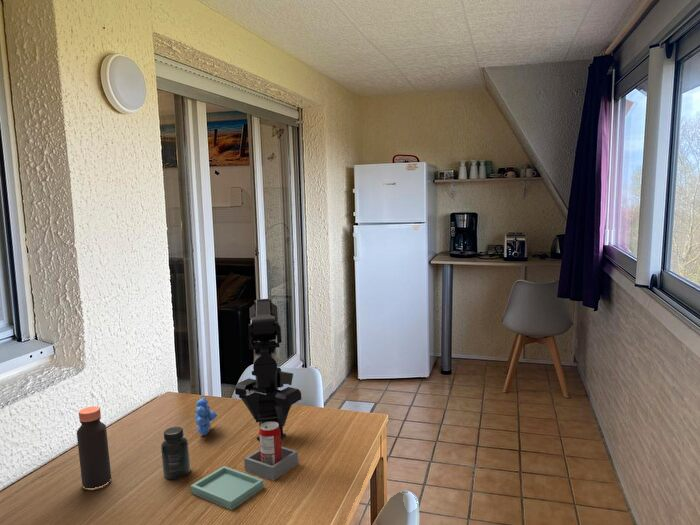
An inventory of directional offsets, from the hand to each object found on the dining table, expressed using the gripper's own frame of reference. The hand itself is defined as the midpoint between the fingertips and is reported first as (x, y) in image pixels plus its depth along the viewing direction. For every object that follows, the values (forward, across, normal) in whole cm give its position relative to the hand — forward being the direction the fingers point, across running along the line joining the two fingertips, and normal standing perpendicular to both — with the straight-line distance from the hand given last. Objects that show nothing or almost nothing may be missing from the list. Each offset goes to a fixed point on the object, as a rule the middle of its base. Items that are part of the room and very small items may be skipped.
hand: (269, 422), depth 140 cm
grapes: (+13, +31, -5) cm, 34 cm away
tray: (+12, +2, +14) cm, 19 cm away
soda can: (+13, 0, 0) cm, 13 cm away
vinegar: (+13, +34, +29) cm, 46 cm away
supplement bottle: (+13, +20, +15) cm, 28 cm away
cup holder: (+12, 0, 0) cm, 12 cm away
